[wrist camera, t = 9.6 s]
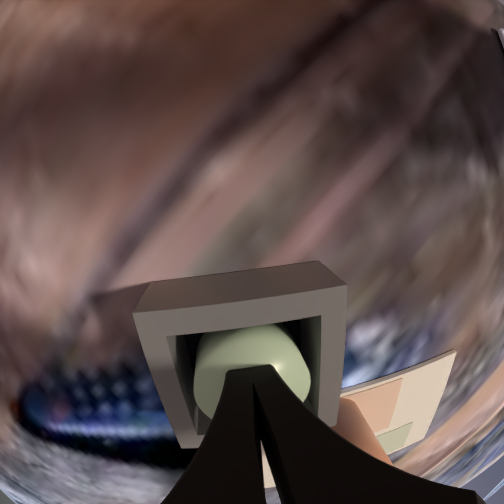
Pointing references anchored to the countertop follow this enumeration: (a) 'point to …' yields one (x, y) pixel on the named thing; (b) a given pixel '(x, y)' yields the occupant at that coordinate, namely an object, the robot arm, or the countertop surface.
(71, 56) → the countertop surface
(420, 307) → the countertop surface
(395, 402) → the sheet
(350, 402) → the brown round-topped peg
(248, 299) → the button housing
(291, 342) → the button
